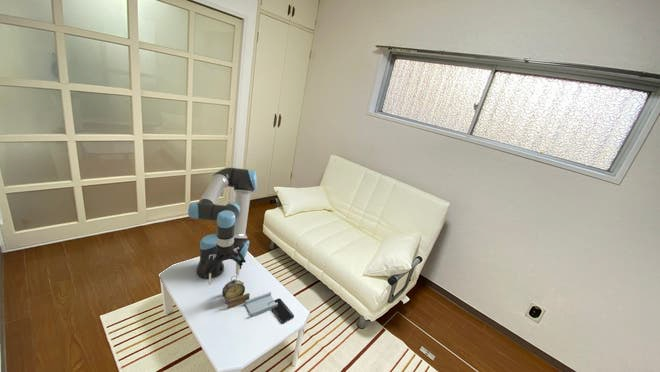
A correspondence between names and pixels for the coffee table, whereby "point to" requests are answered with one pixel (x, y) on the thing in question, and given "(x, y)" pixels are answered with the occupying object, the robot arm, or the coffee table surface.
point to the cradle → (260, 304)
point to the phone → (282, 311)
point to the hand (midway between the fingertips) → (223, 278)
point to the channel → (238, 300)
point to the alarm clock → (233, 289)
